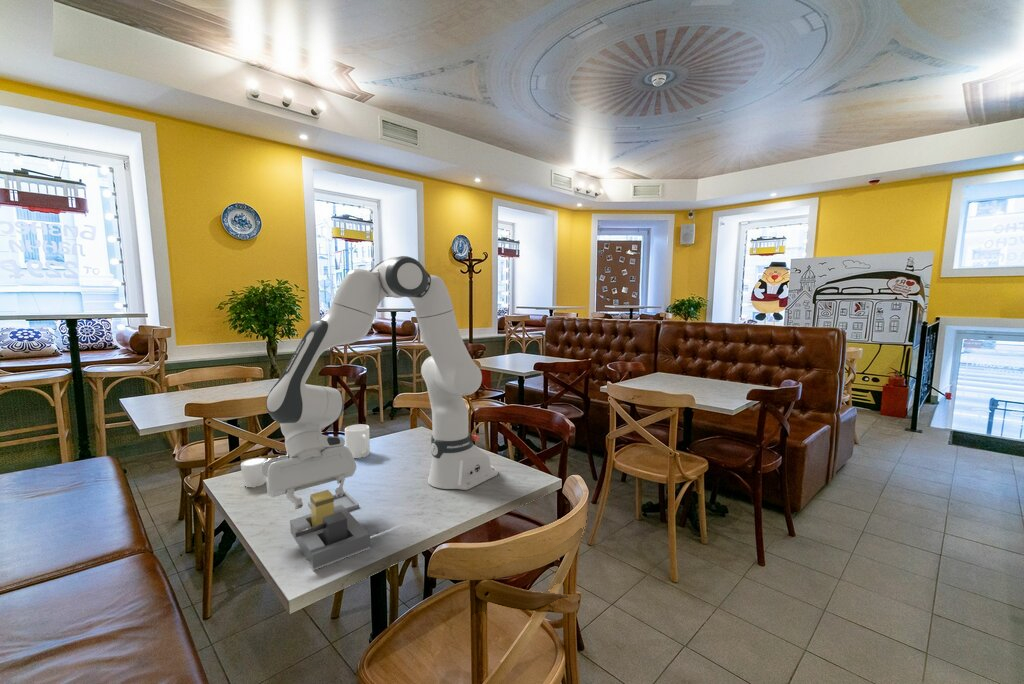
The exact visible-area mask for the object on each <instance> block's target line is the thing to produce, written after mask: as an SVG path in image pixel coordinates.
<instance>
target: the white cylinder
mask: <svg viewBox="0 0 1024 684" xmlns="http://www.w3.org/2000/svg"><path fill="white" fill-rule="evenodd" d="M266 461H268V459H267V458H266V457H252V458H249V459H246V460H243V461H242V462H241V463H240V471H241V475H242V480H243V481H242V482H243V486H244V487H245V486H246V487H245V488H247V487H253V488H257V487H256V486H258V487H261V486H263V485H265V484H266V483H267V477H266V476H265V475H264V474H263V472H262V465H263V463H264V462H266ZM264 483H265V484H264ZM260 485H261V486H260Z"/></svg>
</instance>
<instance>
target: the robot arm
mask: <svg viewBox="0 0 1024 684" xmlns="http://www.w3.org/2000/svg"><path fill="white" fill-rule="evenodd" d="M384 298H395V299H396V298H397V299H400V298H407V299H409V300H410V301H411V303H412V306H413V307H414V313H415V316H416V317H415V318H416V321H417V325H418V328H419V332H420V336H421V340H422V342H423V345H424V346H425V347H426V349H427V351H428V352H429V354H430V356H428V357H427V358H425V360H424V361H423V363H422V365H421V370H420V373H421V376H422V379H423V380H424V383H425V385H426V388H427V389H426V390H427V394H428V398H429V403H430V408H431V418H432V419H431V422H432V423H431V425H432V428H431V429H432V435H431V437H430V445H431V446H430V448H431V462H430V463H431V464H430V469H429V474H428V477H427V483H428V484H429V485H430V486H432V487H434V488H437V489H440V490H442V489H444V490H462V491H463V490H464V491H467V490H468V491H469V490H470V489H473V488H474V487H475V486H479V484H482V483H484V482H486V481H488V480H490V479H492V478H494V477H496V476H498V473H499V472H498V470H497V468H496V467H495V466H493V465H492V464H491V460H490V459H491V458H490V457H489V454H488V453H486V452H485V451H484V450H483V449H481V448H480V447H478V446H477V445H475V444H474V442H475V443H478V442H479V441H480V436H479V435H477V434H472V433H469V410H468V407H467V405H466V403H465V401H464V398H463V396H469V395H472V394H475V392H477V391H478V390H479V388H480V387H481V384H482V382H483V375H482V370H481V369H480V367H479V366H478V365H477V364H476V362H475V361H474V360H473V359H472V357H471V355H470V353H469V351H468V349H467V346H466V345H465V342H464V340H463V338H462V336H461V334H460V331H459V326H458V321H457V317H456V314H455V310H454V306H453V301H452V298H451V295H450V293H449V290H448V288H447V286H446V284H445V282H444V280H443V279H442V278H441V277H440V276H439V275H434V274H430V273H428V271H427V270H426V269H425V267H424V266H423V265H422V264H421V262H420V261H419V260H418V259H415V258H414V257H412V256H407V255H406V256H405V255H400V256H393V257H389V258H387V259H385V260H383V261H380V262H379V263H377V264H375V265H374V266H373V267H371V269H370V270H367V269H364V268H363V269H361V268H354V269H351V270H349V271H348V272H346V274H345V276H344V277H343V278H342V280H341V283H340V284H339V286H338V289H336V292H335V295H334V297H333V300H332V302H331V305H330V307H329V308H328V310H327V312H326V314H325V315H324V316H322V318H321V319H320V320H316V321H314V322H313V323H312V324H311V325H310V326H309V327H308V328H307V330H306V332H305V333H304V334H303V336H302V338H301V340H300V342H299V344H298V345H297V347H296V350H294V352H293V355H292V356H291V357H290V360H289V362H288V363H287V365H286V367H285V369H284V371H283V372H282V374H281V376H280V378H279V379H278V380H277V382H276V383H275V384H274V385H273V386H272V388H271V389H270V391H269V392H268V395H267V398H266V400H265V408H266V410H267V413H268V414H269V415H270V417H271V419H272V420H274V421H275V422H276V423H278V424H279V426H280V431H281V433H282V435H283V436H284V446H285V447H284V448H285V450H286V454H285V455H284V454H283V455H280V456H278V457H270V458H268V459H267V461H266V462H264V463H263V465H262V472H263V474H264V475H265V476H266V491H267V495H268V496H270V497H271V498H275V497H280V496H283V495H285V496H286V497H285V498H286V499H288V501H290V502H291V503H293V507H294V509H295V510H298V509H302V508H303V507H304V503H303V499H302V497H300V498H298V497H297V496H295V495H294V494H295V492H299V491H301V490H306V489H308V488H313V487H316V486H320V485H324V484H327V483H328V484H329V483H331V482H335V481H336V483H337V484H339V486H338V487H336V488H335V490H334V494H336V497H339V496H343V494H344V492H345V490H344V488H343V486H344V483H345V480H346V478H350V477H352V476H354V474H355V473H356V470H357V467H358V466H357V463H356V461H355V460H356V459H354V457H353V455H352V453H351V451H350V450H349V449H348V448H347V447H345V438H344V437H342V436H329V435H323V433H322V429H324V428H327V427H329V426H330V425H332V424H333V423H335V422H336V421H338V419H340V417H341V416H342V414H343V412H344V409H345V401H344V395H343V394H342V393H341V391H340V390H339V389H338V388H334V387H329V386H323V385H313V384H307V383H306V382H307V380H308V378H309V377H310V375H311V373H312V371H313V370H314V367H315V366H316V363H317V361H318V359H319V358H320V356H321V355H322V354H323V353H324V352H325V351H327V350H329V349H331V348H333V347H337V346H342V345H349V344H353V343H356V342H359V341H361V340H363V339H364V338H365V337H366V336H367V335H368V333H369V332H370V330H371V327H372V326H373V325H372V324H373V322H374V319H375V316H376V314H377V313H376V312H377V310H378V307H379V305H380V303H381V301H382V300H383V299H384Z"/></svg>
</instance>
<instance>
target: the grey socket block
mask: <svg viewBox="0 0 1024 684" xmlns="http://www.w3.org/2000/svg"><path fill="white" fill-rule="evenodd" d="M322 519H323V524H321V525H318V526H314V527H312V522H311V513H309V514H306V515H302V516H299V517H296V518H293V519H290V520H289V525H290V526H289V528H290V534H291V536H292V537H293V538H294V541H295V542H296V544H297V545H298V547H299V549H300V550H301V552H302V553H303V555H304V557H305V558H306V562H307V561H308V562H307V564H308V565H309V566H310V568H311V569H313V570H314V571H316V570H315V569H317V570H319V569H318V568H320V569H321V567H322V568H324V567H323V566H325V567H327V566H330V565H332V564H334V562H335V563H337V562H336V561H338V562H340V561H342V560H341V559H343V560H345V559H347V558H346V557H348V556H350V557H352V556H351V555H353V556H355V555H358V554H360V553H359V552H361V553H363V552H366V551H368V550H370V549H371V536H370V535H371V534H370V533H369V531H368V530H366V528H365V527H364V526H362V524H361V523H360V522H359V521H358V520H357V519H356V518H355V517H354V516H353V515H352V513H350V511H347V510H346V509H345V508H344V507H343V505H338V506H335V507H334V514H332V515H329V516H325V517H322ZM365 550H366V551H365ZM362 551H363V552H362ZM357 553H358V554H357ZM354 554H355V555H354ZM344 558H345V559H344ZM348 558H349V557H348ZM339 560H340V561H339ZM329 564H330V565H329ZM326 565H327V566H326ZM313 570H312V571H313Z"/></svg>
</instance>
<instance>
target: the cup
mask: <svg viewBox="0 0 1024 684" xmlns="http://www.w3.org/2000/svg"><path fill="white" fill-rule="evenodd" d="M370 439H371V438H370V426H369V425H368V424H363V423H362V424H361V423H359V424H352V425H348V426H346V427H345V428H344V441H345V443H344V446H345V447H347V448H348V449H349V450H350V451H351V453H352V455H353V457H354V458H359V459H362V458H361V457H363V458H365V456H366V457H368V456H369V455H370V451H371V450H370V447H371V445H370V443H371V442H370V441H371V440H370ZM367 455H368V456H367Z"/></svg>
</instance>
